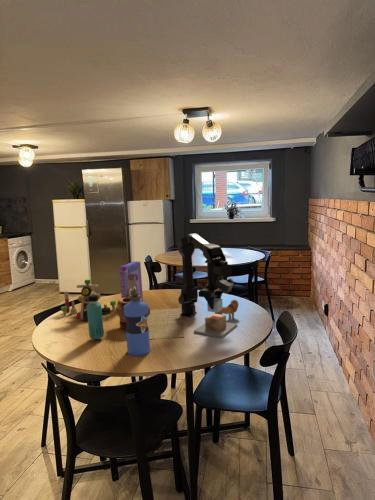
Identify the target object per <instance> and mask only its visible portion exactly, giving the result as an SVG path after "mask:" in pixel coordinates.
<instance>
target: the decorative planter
mask: <svg viewBox="0 0 375 500" xmlns="http://www.w3.org/2000/svg"><path fill="white" fill-rule="evenodd" d="M140 301H142V302H144V301H143V300H142V299H141V300H140ZM129 302H130V297H128V298H122V297H121V298H120V299H118V300H117V302H116V305H115V310H114V312H115V314H116V315H117V316H118V317H119V325H120V328H121V329H122V330H125V331H126V326H127V324H126V319H125V315H124V305H126V304H128V303H129ZM150 314H151V309H150V308H149V306H148V316H147V318H148V317H149V316H150Z"/></svg>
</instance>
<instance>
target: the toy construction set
mask: <svg viewBox="0 0 375 500" xmlns="http://www.w3.org/2000/svg"><path fill="white" fill-rule="evenodd" d="M98 287H99V284H91V279H84V284H76V288H77V289H81V291H80V293H81V295H78V302H80V312H79V313H78V311H77V308H75V301H71V309H70V299H69V291H64V292H63V293H64V295H63V296H64V303H65V305H64V306H61V308H60V310H61V312H62V314H63V315H62V316H63V317H67V313H70V315H76V319H77V320H81V321H83V320H84V321H86V322H88V315H87V305H88V304H89V303H92V302H89V301H88V297H89V296H91V295H97V296H98V300H100V299H101V293H97V292H96V291H95V288H98ZM94 302H98V301H94ZM109 303H110V306H111V307H108V304H107V303H105V304H103V307H101V309H102V315H107V314H109V313H110V312H111V310H112V311H115V309H116V306H117V302H116V301H115V300H111V301H110V302H109ZM111 308H112V309H111Z"/></svg>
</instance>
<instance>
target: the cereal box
mask: <svg viewBox="0 0 375 500" xmlns="http://www.w3.org/2000/svg"><path fill="white" fill-rule="evenodd" d="M118 268H119V269H118V271H119V282H120V283H119V284H120V294H121V295H120V296H121V299H122V298H128V297H130V296H131V295H130V293H131V292H132V291H133V290H137V291H138V292H139V293H140V294H139V295H140V297H141V299H142V301H143V300H144V297H143V281H142V267H141V261H131V262H129V263H127V264H124V265H121V266H119V267H118Z"/></svg>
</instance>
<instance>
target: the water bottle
mask: <svg viewBox="0 0 375 500" xmlns="http://www.w3.org/2000/svg"><path fill="white" fill-rule="evenodd" d="M139 294H140V293H139V292H138V291H137V290H133V291H132V292H131V293H130V295H131V296H130V302H129V303H128V304H126V305H124V315H125V319H126V324H127V326H126V330H125V337H126V348H127V349H126V350H127V354H128V355H129V356H131V357H142V356H145V355H148V354H149V353H150V352H151V344H150V343H151V340H150V330H149V329H150V328H149V324H148V317H149V316H148V307H149V304H148V303H147V302H144V301H143V300H142V301H143V302H142V301H140V300H141V297H140V295H139ZM147 316H148V317H147Z"/></svg>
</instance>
